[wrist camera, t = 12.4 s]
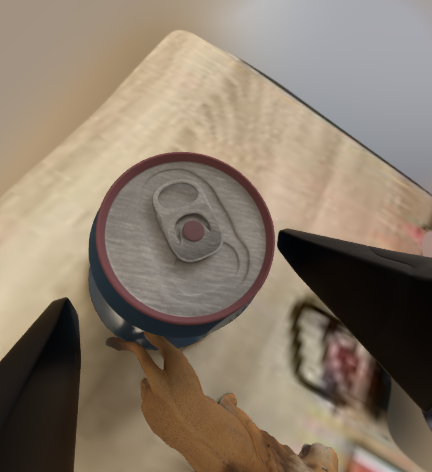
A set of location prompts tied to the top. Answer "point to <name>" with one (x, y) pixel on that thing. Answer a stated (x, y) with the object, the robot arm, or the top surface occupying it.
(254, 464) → the lion figurine
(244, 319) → the top surface
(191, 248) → the soda can
